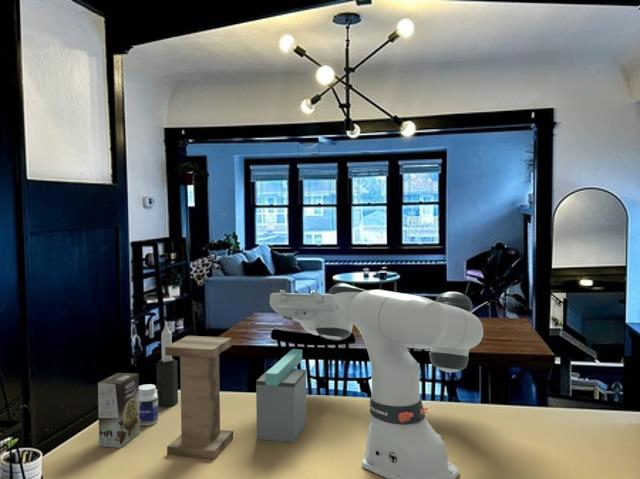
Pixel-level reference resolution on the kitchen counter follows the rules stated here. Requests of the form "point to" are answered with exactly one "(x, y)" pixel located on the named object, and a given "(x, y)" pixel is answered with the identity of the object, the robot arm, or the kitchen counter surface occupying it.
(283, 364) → the teal bar
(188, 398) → the walnut stand
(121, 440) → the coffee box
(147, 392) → the pill bottle
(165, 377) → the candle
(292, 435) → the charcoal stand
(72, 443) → the kitchen counter surface
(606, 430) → the kitchen counter surface
